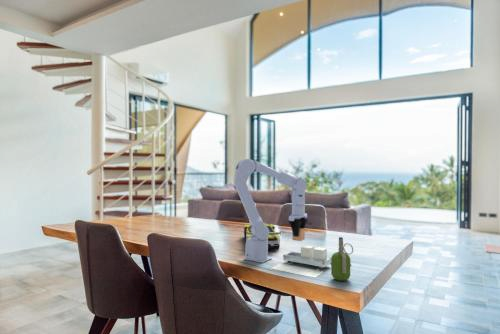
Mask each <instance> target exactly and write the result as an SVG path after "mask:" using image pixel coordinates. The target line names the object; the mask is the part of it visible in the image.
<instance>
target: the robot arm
mask: <svg viewBox="0 0 500 334" xmlns="http://www.w3.org/2000/svg"><path fill="white" fill-rule="evenodd" d="M253 173H262V174H265V175H267V176H269V177H272V178H275V180H276V182H277V183H278V184H280V185H283V186H285V187H288V188H290V189H291V190H292V192H291V214H290V215H289V216H288V223H289V226H290V228H291V231H292V232H293V236H296V237H298V236H299V228H306V224H307V223H308V221H309V218H308V213H306V191H307V188H308V184H307V181H306V180H305V179H304V178H301V177H298V175H296V174H294V175H293V174H292V173H289V171H288V170H280V171H278V170H276V169H274V168H272V167H270V166H268V165H266V164H264V163H261V162H260V161H257V160H253V159H251V158H246V159H241V160H239V162H237V164H236V165H235V172H234V178H233V184H234V187H235V190H236V191H237V194H238V196H239V198H240V200H241V203H242V206H243V208H244V211H245V214H246V216H247V218H248V221H249V225H251V233H252V234H253V235H252V237H251V238H248V239H247V241H246V243H245V249H244V252H245V256H244V258H243V259H244V260H245V261H246V260H247V261H252V262H256V263H261V264H263V263H264V262H267V261H270V260H273V259H272V257H270V256H269V250H268V236H269V229H268V227H266V226H265V225H264V221H263V219H262V217H261V216H260V213H259V212H258V211H259V210H258V209H257V207H256V204H255V202H254V199H253V196H252V195H251V192H250V189H249V188H248V185H247V182H248V180H249V177H250V176H251V175H252V174H253Z"/></svg>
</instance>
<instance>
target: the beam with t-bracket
mask: <svg viewBox="0 0 500 334" xmlns="http://www.w3.org/2000/svg"><path fill="white" fill-rule="evenodd" d="M282 257H283V260H284V261H287V264H288V263H291V262H292V261H293V263H299V264H305V265H311V266H315V267H316V269H320V270H321V269H322V268H321V267H323V268H325V267H327V266H328V265H331V264H330V263H331V257H327V259H326V260H324V261H319V260H313V259H307V258H301V252H297V251H290V252H287V253H284V254H283V255H282ZM291 264H292V263H291Z"/></svg>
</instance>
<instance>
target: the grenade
mask: <svg viewBox="0 0 500 334" xmlns="http://www.w3.org/2000/svg"><path fill="white" fill-rule="evenodd" d="M346 245H349V246H350V247H351V252H350V253H348V252H347V251H346V249H345V246H346ZM353 253H354V247H353V246H352V244H351V243H349V242H347V243H344V237H342V236H339V237H338V251H337V252H336V251H335V252H334V253H333V254H332V255H331V257H330V258H331V263H330V264H329V265H331V268H330V270H331V271H330V273H331V277H332V278H333V279H335V280H336V281H339V282H345V281H347V280H349V279H350V277H351V267H352V263H351V257H350V255H352V254H353Z"/></svg>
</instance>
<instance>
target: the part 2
mask: <svg viewBox="0 0 500 334" xmlns="http://www.w3.org/2000/svg"><path fill="white" fill-rule="evenodd" d="M327 252H328V249H327V248H326V247H319V246H318V247H314V249H313V260H319V261H324V260H326V259H327V258H328V253H327Z"/></svg>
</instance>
